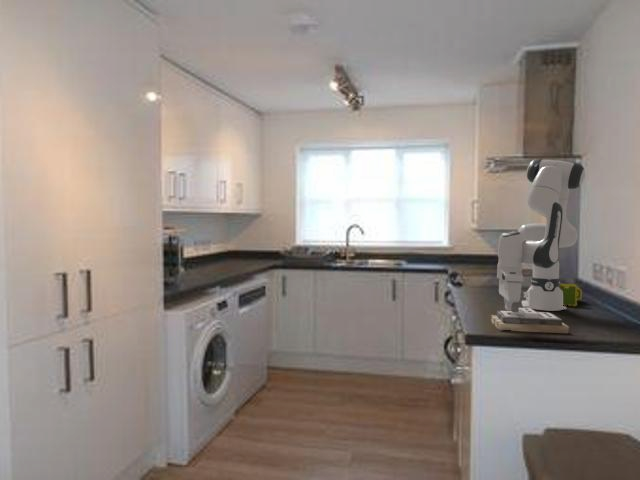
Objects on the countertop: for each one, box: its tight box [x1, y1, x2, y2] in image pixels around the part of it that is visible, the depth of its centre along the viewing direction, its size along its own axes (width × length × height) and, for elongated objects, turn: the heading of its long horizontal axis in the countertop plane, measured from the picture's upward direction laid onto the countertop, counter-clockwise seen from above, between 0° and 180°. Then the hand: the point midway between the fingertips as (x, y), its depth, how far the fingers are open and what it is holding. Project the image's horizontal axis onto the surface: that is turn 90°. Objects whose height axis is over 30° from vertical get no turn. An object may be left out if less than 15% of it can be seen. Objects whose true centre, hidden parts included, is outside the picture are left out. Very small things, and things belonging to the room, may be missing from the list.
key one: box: [499, 310, 518, 318], centre depth 189 cm, size 11×4×2 cm, turn 171°
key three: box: [536, 311, 559, 319], centre depth 187 cm, size 11×4×2 cm, turn 171°
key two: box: [517, 307, 538, 319], centre depth 188 cm, size 11×4×2 cm, turn 171°
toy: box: [559, 283, 583, 307], centre depth 249 cm, size 17×10×30 cm
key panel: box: [490, 310, 570, 334], centre depth 188 cm, size 16×24×4 cm, turn 81°
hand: (508, 309), depth 190 cm, fingers closed
